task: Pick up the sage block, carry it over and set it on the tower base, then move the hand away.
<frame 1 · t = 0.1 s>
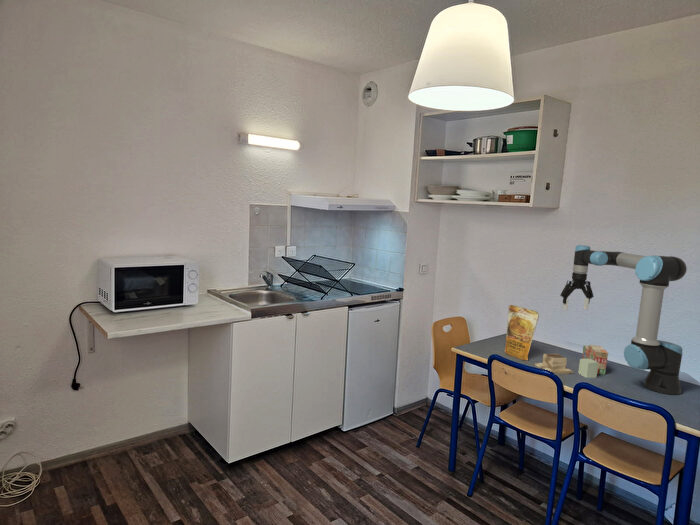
hand: (575, 309, 273), 28 cm above the table, tool pointing down, fingers open, 13 cm apart
pancake mix bag: (516, 356, 271), on the table
tower base: (553, 369, 252), on the table
printed food box: (592, 368, 259), on the table
sage block: (587, 375, 245), on the table
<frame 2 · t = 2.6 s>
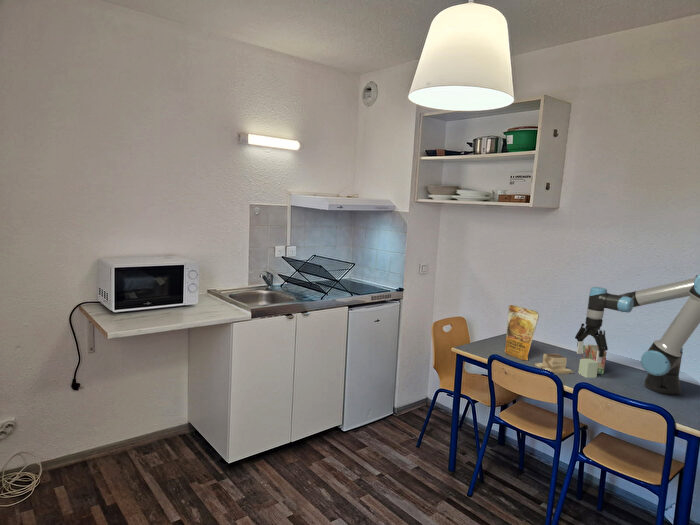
hand: (588, 358, 245), 9 cm above the table, tool pointing down, fingers open, 13 cm apart
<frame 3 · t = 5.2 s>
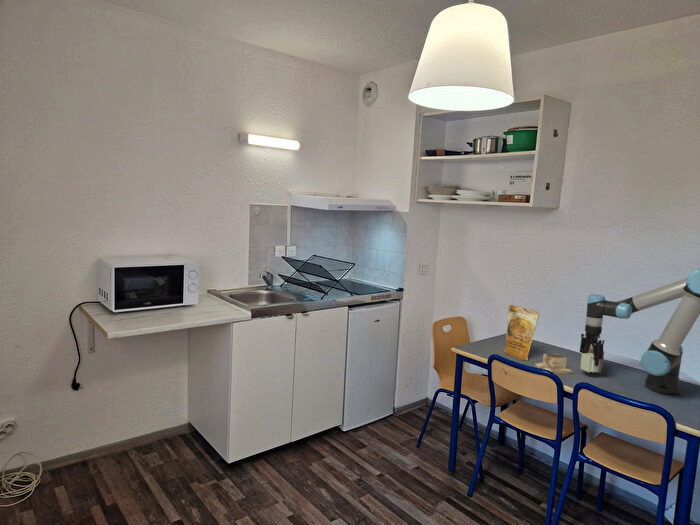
hand: (589, 369, 244), 4 cm above the table, tool pointing down, fingers closed on sage block, 6 cm apart
sage block: (589, 370, 245), point 3 cm above the table, touching gripper
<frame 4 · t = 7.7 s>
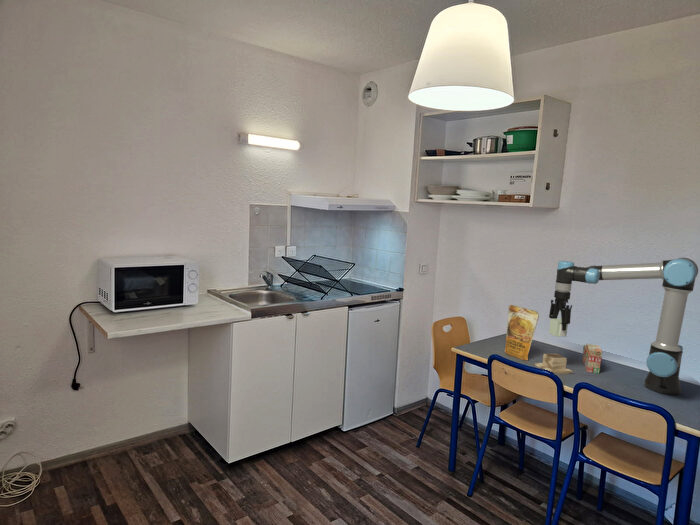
hand: (557, 334, 250), 19 cm above the table, tool pointing down, fingers closed on sage block, 6 cm apart
sage block: (557, 334, 250), point 19 cm above the table, touching gripper
when the fingers open (9 cm above the table, at t = 10.1 s): sage block stays where it is, resting on tower base.
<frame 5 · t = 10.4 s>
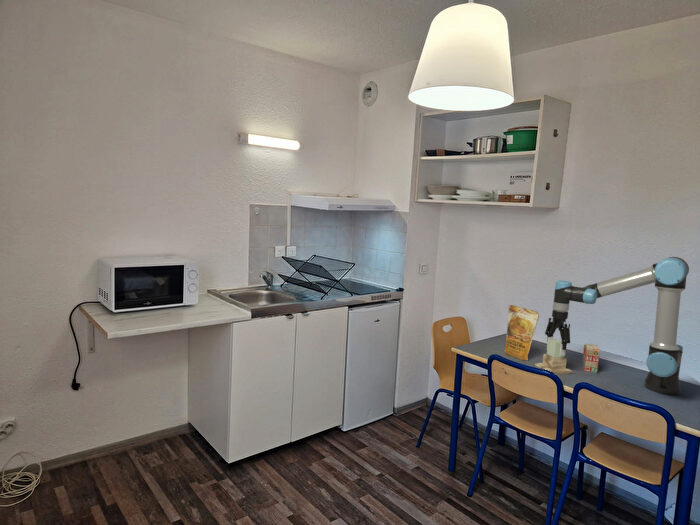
hand: (555, 352, 251), 9 cm above the table, tool pointing down, fingers open, 9 cm apart
sage block: (555, 355, 251), point 7 cm above the table, touching tower base
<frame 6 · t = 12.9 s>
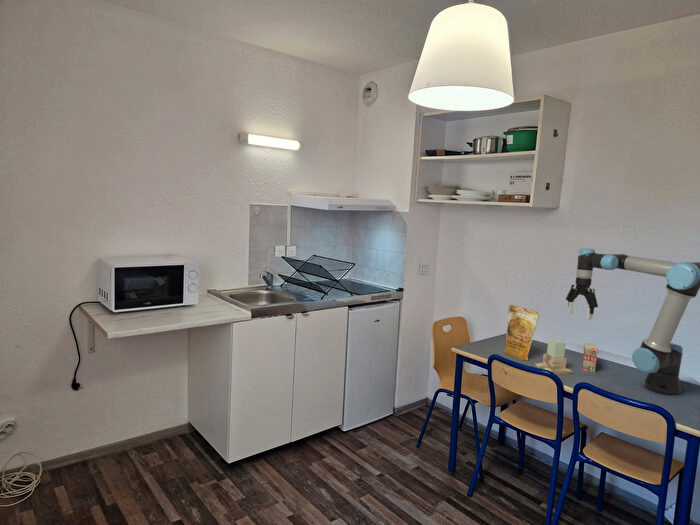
hand: (579, 316, 256), 27 cm above the table, tool pointing down, fingers open, 13 cm apart
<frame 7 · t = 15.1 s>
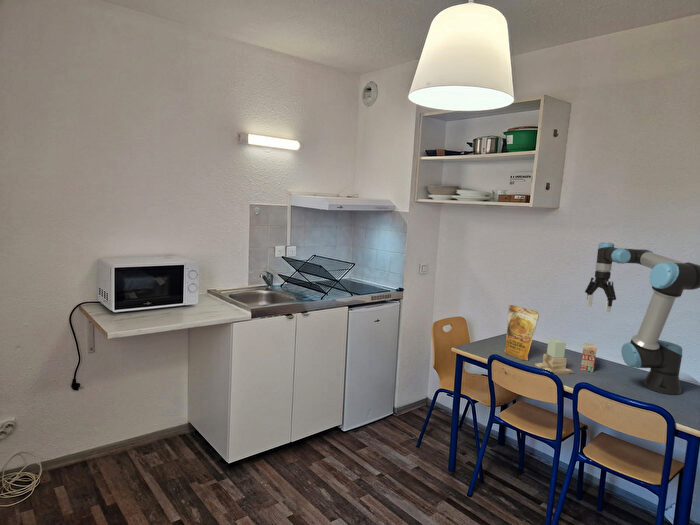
hand: (598, 309, 263), 31 cm above the table, tool pointing down, fingers open, 13 cm apart
at the end: sage block 0.1 cm off-centre on the tower base, point 7.4 cm above the tower base's base; sage block tilted 0°; the gripper is holding nothing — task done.
